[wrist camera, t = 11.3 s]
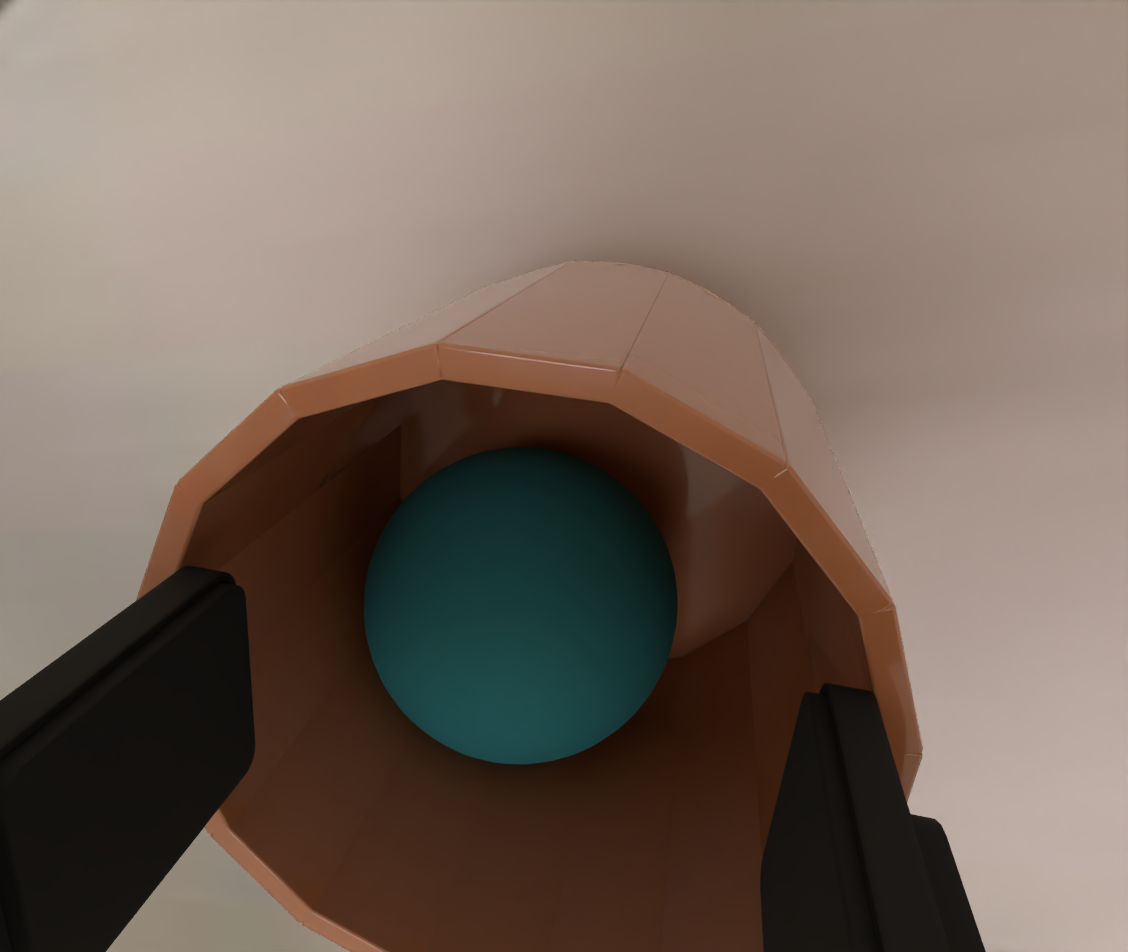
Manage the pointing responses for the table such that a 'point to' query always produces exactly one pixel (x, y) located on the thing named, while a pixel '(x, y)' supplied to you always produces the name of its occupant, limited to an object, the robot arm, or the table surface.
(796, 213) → the table surface
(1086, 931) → the table surface
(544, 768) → the terracotta pot
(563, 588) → the ball
